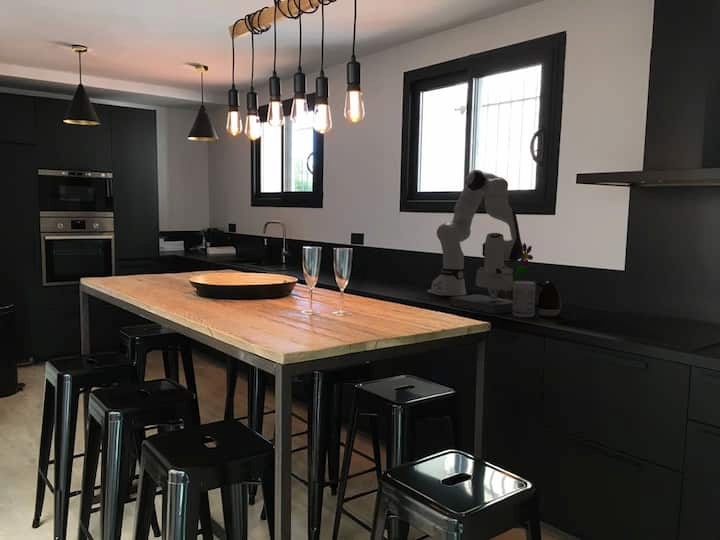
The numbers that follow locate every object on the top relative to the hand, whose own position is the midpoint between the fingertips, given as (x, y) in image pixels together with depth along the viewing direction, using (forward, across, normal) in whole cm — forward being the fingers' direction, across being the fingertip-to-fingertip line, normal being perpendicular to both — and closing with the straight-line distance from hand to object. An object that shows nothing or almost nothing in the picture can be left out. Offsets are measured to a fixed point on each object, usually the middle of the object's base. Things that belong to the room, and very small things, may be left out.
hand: (493, 298), depth 270 cm
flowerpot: (+5, -6, +23) cm, 24 cm away
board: (+5, -5, 0) cm, 7 cm away
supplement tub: (+5, +18, 0) cm, 19 cm away
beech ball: (+3, +3, 0) cm, 4 cm away
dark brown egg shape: (+5, +24, +9) cm, 26 cm away
